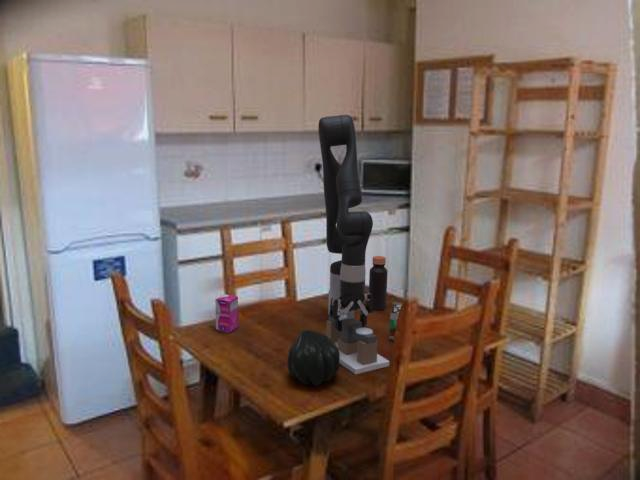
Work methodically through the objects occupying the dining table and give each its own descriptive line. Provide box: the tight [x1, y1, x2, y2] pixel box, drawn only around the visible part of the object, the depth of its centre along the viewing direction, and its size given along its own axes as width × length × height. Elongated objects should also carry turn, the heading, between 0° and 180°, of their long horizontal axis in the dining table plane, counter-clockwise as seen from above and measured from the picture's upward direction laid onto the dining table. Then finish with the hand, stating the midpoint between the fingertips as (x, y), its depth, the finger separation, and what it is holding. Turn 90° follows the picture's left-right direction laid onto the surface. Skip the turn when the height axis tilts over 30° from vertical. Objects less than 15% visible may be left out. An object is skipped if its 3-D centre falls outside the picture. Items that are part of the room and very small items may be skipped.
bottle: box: [368, 255, 388, 311], centre depth 214 cm, size 7×7×20 cm
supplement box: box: [214, 293, 239, 334], centre depth 191 cm, size 6×6×12 cm
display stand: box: [325, 319, 390, 375], centre depth 172 cm, size 24×12×8 cm, turn 30°
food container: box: [388, 301, 403, 342], centre depth 188 cm, size 12×6×10 cm, turn 168°
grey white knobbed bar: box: [328, 315, 377, 344], centre depth 172 cm, size 22×5×6 cm, turn 30°
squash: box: [286, 329, 340, 386], centre depth 156 cm, size 14×15×15 cm
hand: (351, 328), depth 171 cm, fingers open, 8 cm apart
